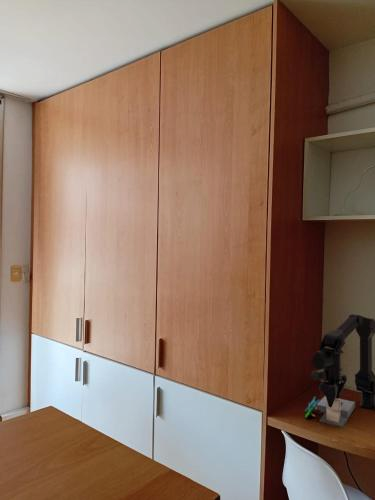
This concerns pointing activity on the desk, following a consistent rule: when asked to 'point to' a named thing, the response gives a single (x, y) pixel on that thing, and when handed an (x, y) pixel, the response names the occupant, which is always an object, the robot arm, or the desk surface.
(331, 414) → the cream block
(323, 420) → the dark gray panel
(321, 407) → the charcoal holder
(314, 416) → the stick construction toy
